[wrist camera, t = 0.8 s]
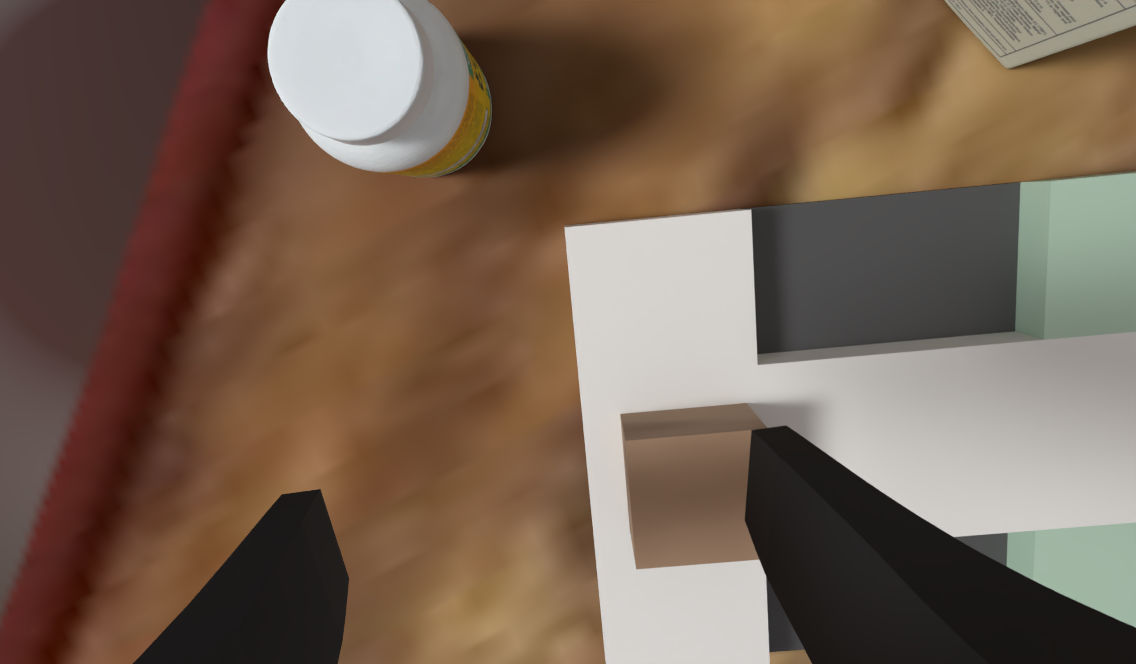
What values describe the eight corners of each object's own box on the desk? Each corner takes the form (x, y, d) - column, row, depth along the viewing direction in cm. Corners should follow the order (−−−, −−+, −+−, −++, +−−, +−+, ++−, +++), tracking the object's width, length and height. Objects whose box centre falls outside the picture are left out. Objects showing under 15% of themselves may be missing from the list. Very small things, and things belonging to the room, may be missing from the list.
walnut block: (751, 519, 27) (773, 558, 24) (629, 529, 27) (636, 569, 24) (746, 403, 26) (767, 428, 23) (620, 414, 26) (625, 440, 23)
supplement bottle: (332, 120, 26) (194, 73, 17) (412, 6, 25) (315, -110, 16) (441, 207, 27) (367, 210, 17) (522, 99, 26) (492, 40, 16)
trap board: (1179, 616, 30) (1221, 645, 28) (606, 659, 31) (608, 691, 29) (1221, 162, 26) (1274, 159, 24) (565, 225, 27) (564, 227, 25)
